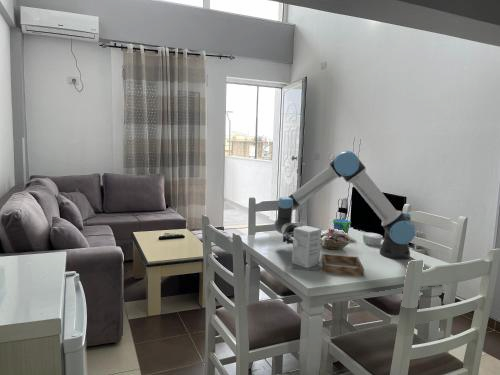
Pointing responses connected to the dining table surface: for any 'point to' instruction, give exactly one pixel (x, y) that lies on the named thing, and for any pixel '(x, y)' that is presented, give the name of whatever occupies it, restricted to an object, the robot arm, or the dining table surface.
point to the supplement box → (306, 246)
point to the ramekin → (372, 238)
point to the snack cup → (342, 224)
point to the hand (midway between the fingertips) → (310, 243)
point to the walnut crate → (342, 269)
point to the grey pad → (295, 266)
